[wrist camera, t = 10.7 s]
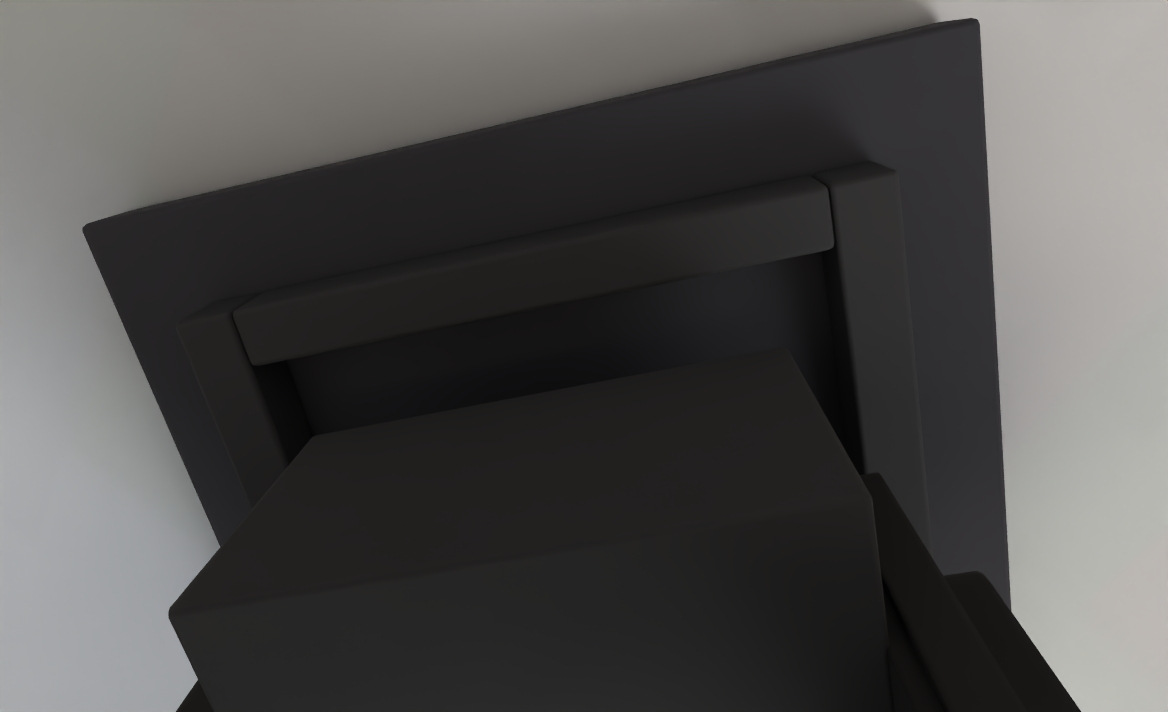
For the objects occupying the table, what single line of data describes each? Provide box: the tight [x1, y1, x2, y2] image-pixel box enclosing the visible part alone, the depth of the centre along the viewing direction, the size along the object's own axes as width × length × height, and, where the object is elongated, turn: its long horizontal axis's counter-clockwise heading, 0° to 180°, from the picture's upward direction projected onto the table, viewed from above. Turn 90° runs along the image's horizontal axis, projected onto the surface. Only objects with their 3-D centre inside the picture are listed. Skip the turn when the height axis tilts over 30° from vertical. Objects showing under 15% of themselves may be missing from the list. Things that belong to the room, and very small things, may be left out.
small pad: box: [168, 347, 894, 712], centre depth 9 cm, size 6×6×4 cm
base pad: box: [82, 18, 1011, 611], centre depth 12 cm, size 12×12×2 cm
